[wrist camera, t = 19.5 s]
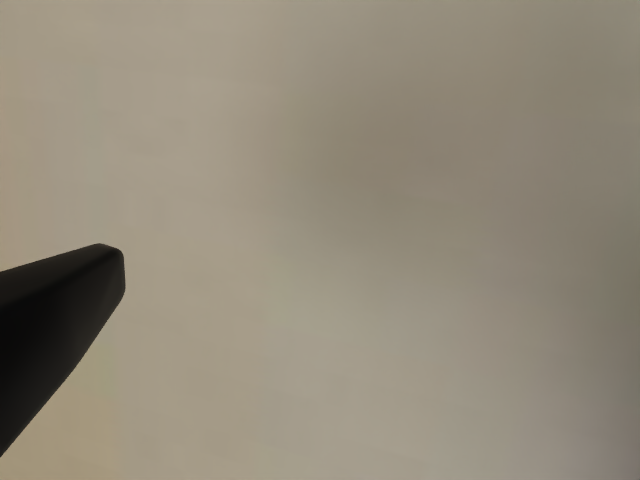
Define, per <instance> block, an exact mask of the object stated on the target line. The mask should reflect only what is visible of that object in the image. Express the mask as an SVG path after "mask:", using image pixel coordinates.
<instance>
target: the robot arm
mask: <svg viewBox="0 0 640 480" xmlns="http://www.w3.org/2000/svg"><path fill="white" fill-rule="evenodd" d="M124 292H125V270H124V257H123V254H122V252H121V251H120V250H119V249H117V248H114V247H111V246H108V245H105V244H100V243H98V244H93V245H90V246H87V247H83V248H80V249H76V250H73V251H70V252H66V253H63V254H59V255H56V256H53V257H49V258H46V259H42V260H39V261H35V262H32V263H29V264H25V265H22V266H18V267H15V268H12V269H8V270H5V271H1V272H0V457H1V456H2V455H3V454H4V452H5V451H6V450H7V449H8V448H9V447H10V445H11V444H12V443H13V442H14V441H15V439H16V438H17V437H18V436H19V435H20V433H21V432H22V431H23V430H24V429H25V427H26V426H27V425H28V424H29V423H30V422H31V420H32V419H33V418H34V417H35V416H36V414H37V413H38V412H39V411H40V410H41V408H42V407H43V406H44V405H45V404H46V402H47V401H48V400H49V399H50V398H51V396H52V395H53V394H54V393H55V392H56V391H57V389H58V388H59V387H60V386H61V385H62V383H63V382H64V381H65V380H66V379H67V377H68V376H69V375H70V374H71V372H72V371H73V370H74V369H75V367H76V366H77V364H78V363H79V362H80V360H81V359H82V357H83V356H84V355H85V353H86V352H87V350H88V349H89V347H90V346H91V344H92V343H93V341H94V340H95V338H96V337H97V335H98V334H99V332H100V331H101V329H102V328H103V326H104V325H105V323H106V322H107V320H108V319H109V317H110V316H111V314H112V313H113V311H114V310H115V308H116V307H117V306H118V304H119V303H120V301H121V299H122V297H123V295H124Z"/></svg>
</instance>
